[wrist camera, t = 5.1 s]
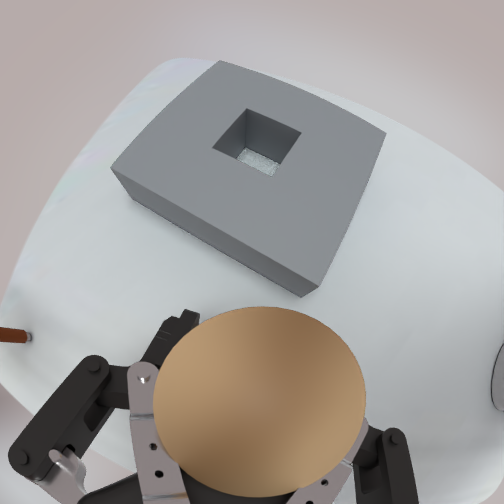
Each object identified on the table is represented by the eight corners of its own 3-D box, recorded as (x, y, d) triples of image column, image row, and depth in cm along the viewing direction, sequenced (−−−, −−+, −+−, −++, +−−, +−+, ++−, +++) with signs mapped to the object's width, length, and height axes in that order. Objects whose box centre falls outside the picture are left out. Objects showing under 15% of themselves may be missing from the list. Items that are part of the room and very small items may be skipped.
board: (365, 165, 24) (386, 133, 19) (301, 297, 20) (319, 286, 15) (221, 97, 26) (219, 60, 21) (132, 198, 22) (109, 167, 17)
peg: (303, 346, 19) (400, 363, 7) (262, 413, 18) (295, 518, 5) (233, 306, 20) (222, 263, 7) (191, 374, 18) (118, 434, 6)
